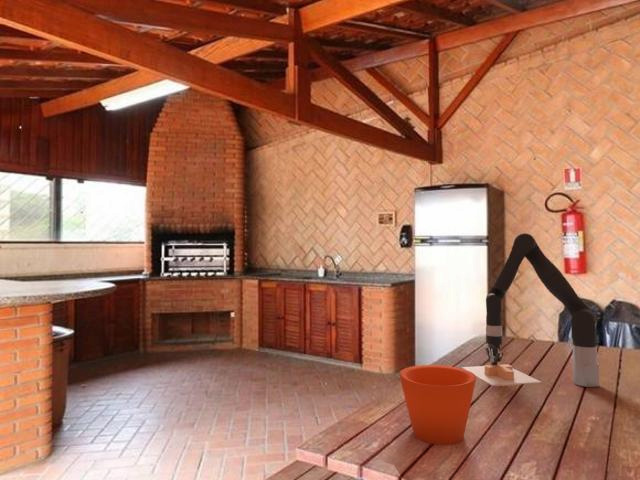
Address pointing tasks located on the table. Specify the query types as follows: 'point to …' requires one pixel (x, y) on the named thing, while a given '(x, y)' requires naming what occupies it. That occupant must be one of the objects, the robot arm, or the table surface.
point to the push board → (497, 381)
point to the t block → (500, 371)
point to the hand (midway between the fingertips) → (494, 369)
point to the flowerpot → (438, 401)
